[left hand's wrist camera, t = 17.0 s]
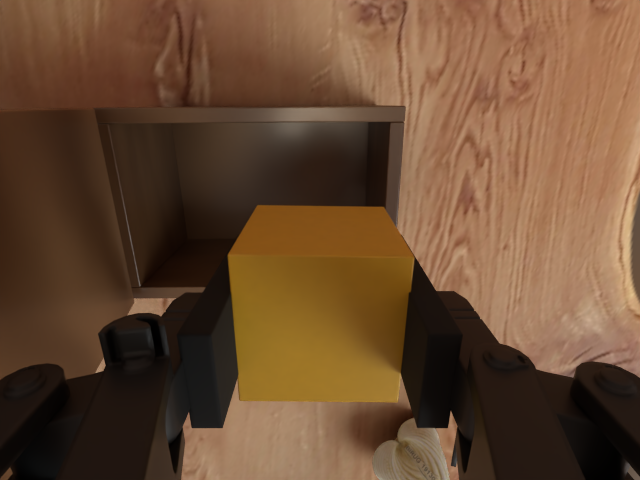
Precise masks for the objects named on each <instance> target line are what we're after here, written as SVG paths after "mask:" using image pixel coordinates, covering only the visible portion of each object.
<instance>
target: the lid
mask: <svg viewBox="0 0 640 480" xmlns="http://www.w3.org/2000/svg"><path fill="white" fill-rule="evenodd" d="M133 304H134V298H133V293H132V289H131V284H130V279H129V274H128V269H127V265H126V260H125V255H124V250H123V245H122V240H121V236H120V231H119V226H118V221H117V216H116V212H115V207H114V202H113V197H112V192H111V187H110V183H109V178H108V173H107V168H106V163H105V158H104V154H103V149H102V144H101V139H100V134H99V130H98V125H97V120H96V115H95V110H94V109H93V108H53V109H2V110H0V380H1V379H2V378H4V377H5V376H7V375H9V374H11V373H13V372H15V371H17V370H19V369H22V368H24V367H28V366H32V365H37V364H45V363H50V364H57V365H59V366H60V367H61V368H63V370H64V373H65V376H66V379H71V378H76V377H80V376H85V375H90V374H95V372H96V370H97V368H98V366H99V365H100V363H101V361H102V359H103V358H104V356H103V352H102V348H101V344H100V340H99V336H98V333H99V332H100V331H101V330H102V328H103V327H104V326H106V325H108V324H109V323H111V322H112V321H114V320H117V319H119V318H122V317H124V316H127V314H128V313H129V311H130V309H131V307H132V305H133ZM12 474H13V473H12V471H11V468H9V469H8V470H7V471H6V472H5V474H4V475H3V476H2V477H1V478H0V480H8V478H9V477H10V476H11V475H12Z"/></svg>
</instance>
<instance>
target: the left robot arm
mask: <svg viewBox="0 0 640 480" xmlns="http://www.w3.org/2000/svg"><path fill="white" fill-rule="evenodd" d="M239 235H240V234H238V236H237V237H236V239H235V241H234V242H233V244H232V246H231V247H230V249H229V250H228V252H227V254H226V255H225V257H224V259H223V260H222V262H221V263H220V265H219V267H218V268H217V270H216V271H215V273H214V275H213V276H212V278H211V280H210V281H209V283H208V284H207V286H206V288H205V289H204V291H203V292H186V293H184V294H183V295H181V296H179V297H178V298H176V299H175V300H173V301H172V303H171V304H170V305H169V307H168V308H167V309H166V312H164V314H163V315H162V316H161V317H160V316H159V315H156V314H152V313H137V314H133V315H128V316H124V317H122V318H119V319H117V320H114V321H112V322H111V323H109V324H108V325H106V326H104V327H103V328H102V330H101V331H100V332H99V333H98V336H99V340H100V344H101V348H102V352H103V356H104V360H105V364H106V366H105V369H104V371H102V372H98V373H95V374H90V375H85V376H80V377H76V378H71V379H66V376H65V373H64V370H63V368H61V367H60V366H59V365H57V364H50V363H45V364H37V365H32V366H28V367H24V368H22V369H19V370H17V371H15V372H13V373H11V374H9V375H7V376H5V377H4V378H2V379H1V380H0V478H1V477H2V476H3V475H4V474H5V472H6V471H7V470H8V469H9V468H11V471H12V473H13V474H12V475H11V476H10V477H9V478H8V480H181V474H182V465H183V456H184V447H185V439H184V433H183V424H184V422H185V420H186V417H187V415H188V412H189V414H190V420H191V426H192V428H223V425H224V421H225V418H226V415H227V411H228V408H229V404H230V401H231V398H232V394H233V391H234V388H235V384H236V381H237V378H238V363H237V353H236V342H235V332H234V321H233V311H232V301H231V292H230V280H229V267H228V253H229V252H230V250H231V248H232V247H233V245H234V243H235V242H236V240H237V238H238V237H239ZM401 236H402V235H401ZM402 238H403V237H402ZM403 239H404V238H403ZM404 241H405V240H404ZM405 242H406V241H405ZM406 244H407V243H406ZM407 246H408V245H407ZM408 247H409V246H408ZM409 249H410V248H409ZM410 251H411V250H410ZM411 252H412V251H411ZM412 254H413V253H412ZM413 255H414V254H413ZM414 258H415V256H414ZM401 376H402V379H403V382H404V386H405V389H406V393H407V396H408V399H409V403H410V406H411V409H412V413H413V416H414V419H415V423H416V426H417V428H448V424H449V418H450V411H451V412H452V414H453V416H454V419H455V421H456V423H457V426H458V427H457V433H456V438H455V444H454V450H453V456H452V462H451V466H454V467H456V463H457V464H458V473H459V480H634V479H633V478H632V477H631V476H630V474H629V473H628V472H627V471H628V469H629V467H630V466H631V467H632V468H633V469H634V470H635V471H636V473H637V474H638V475H639V476H640V378H639V377H638V376H636V375H635V374H633V373H631V372H628V371H626V370H624V369H623V368H621V367H618V366H615V365H614V366H613V365H612V364H607V363H601V362H585V363H581V364H580V365H579V366H578V367H577V368H576V371H575V374H574V378H572V377H567V376H562V375H557V374H553V373H548V372H544V371H540V370H536V368H535V366H534V364H533V363H532V362H531V360H530V359H529V358H528V357H527V356H526V355H524V354H523V353H522V352H520V351H519V350H516V349H514V348H512V347H510V346H507V345H503V344H500V343H499V342H498V341H497V339H496V338H495V337H494V335H493V334H492V333H491V331H490V330H489V329H488V327H487V326H486V325H485V323H484V322H483V321H482V319H480V317H479V315H478V314H477V313H476V311H474V309H473V307H472V306H471V305H470V303H469V302H468V301H467V299H465V298H464V297H462V296H461V295H459V294H457V293H456V292H454V291H436V290H435V288H434V287H433V285H432V284H431V282H430V280H429V279H428V277H427V275H426V274H425V272H424V271H423V269H422V267H421V266H420V264H419V262H418V261H417V259H416V258H415V259H414V268H413V276H412V285H411V292H409V296H408V307H407V317H406V327H405V337H404V347H403V357H402V367H401Z"/></svg>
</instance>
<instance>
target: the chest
mask: <svg viewBox="0 0 640 480" xmlns="http://www.w3.org/2000/svg"><path fill="white" fill-rule="evenodd" d="M93 109H94V110H95V115H96V120H97V125H98V130H99V134H100V139H101V144H102V149H103V154H104V158H105V163H106V168H107V173H108V178H109V183H110V187H111V192H112V197H113V202H114V207H115V212H116V216H117V221H118V226H119V231H120V236H121V240H122V245H123V250H124V255H125V260H126V265H127V269H128V274H129V279H130V284H131V289H132V293H133V298H178V297H179V296H181V295H183V294H184V293H186V292H203V291H204V289H205V288H206V286H207V284H208V283H209V281H210V280H211V278H212V276H213V275H214V273H215V271H216V270H217V268H218V267H219V265H220V263H221V262H222V260H223V259H224V257H225V255H226V254H227V252H228V250H229V249H230V247H231V246H232V244H233V242H234V241H235V239H236V237H237V236H238V234H240V233H241V232H242V230H243V228H244V227H245V225H246V223H247V222H248V220H249V218H250V217H251V215H252V213H253V212H254V210H255V208H256V207H257V205H284V206H358V207H384V208H385V210H386V212H387V213H388V215H389V216H390V218H391V220H392V221H393V223H394V225H395V226H396V228H397V219H398V205H399V191H400V177H401V163H402V149H403V134H404V121H405V106H381V105H367V106H206V107H117V108H93Z"/></svg>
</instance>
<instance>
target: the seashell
mask: <svg viewBox="0 0 640 480" xmlns="http://www.w3.org/2000/svg"><path fill="white" fill-rule="evenodd" d="M372 464H373V470H374V472H375V474H376V476H377V477H378V478H379V480H449V473H448V468H447V463H446V458H445V456H444V454H443V452H442V447H441V446H440V442H439V437H438V434H437V431H436V429H435V428H417V426H416V423H415V419H414V418H411V419H409V420H407V421H405V422H404V423H403V424H402V425H401V427H400V428H399V431H398V437H397V438H396V439H395V440H389V441H386V442H384V443H382V444H381V445H380V446H378V448H377V449H376V451H375V453H374V456H373V461H372Z"/></svg>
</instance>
